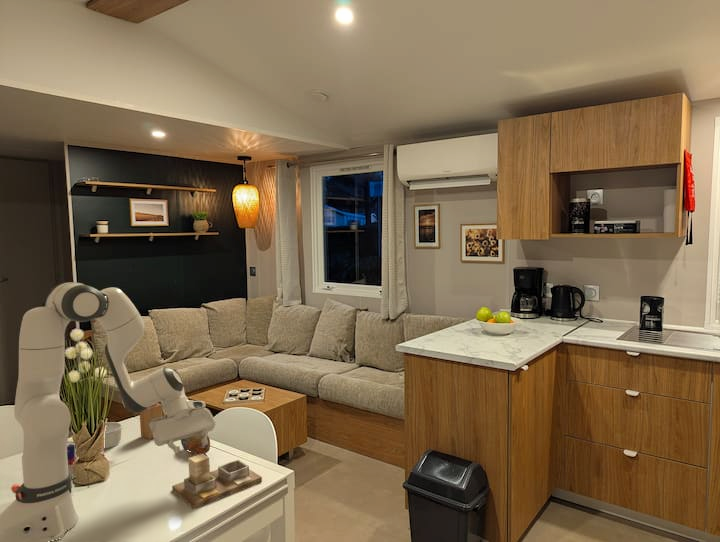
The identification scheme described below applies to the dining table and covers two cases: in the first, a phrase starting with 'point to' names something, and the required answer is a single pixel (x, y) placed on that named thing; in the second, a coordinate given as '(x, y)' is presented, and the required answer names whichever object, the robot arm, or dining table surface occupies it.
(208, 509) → the dining table surface
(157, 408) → the decorative item
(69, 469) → the energy drink
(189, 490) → the socket board
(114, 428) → the ramekin
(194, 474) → the wooden plug
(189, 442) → the tin
